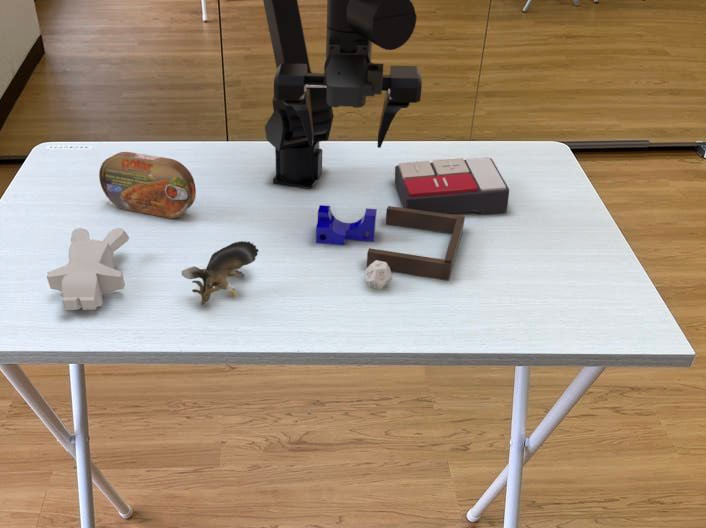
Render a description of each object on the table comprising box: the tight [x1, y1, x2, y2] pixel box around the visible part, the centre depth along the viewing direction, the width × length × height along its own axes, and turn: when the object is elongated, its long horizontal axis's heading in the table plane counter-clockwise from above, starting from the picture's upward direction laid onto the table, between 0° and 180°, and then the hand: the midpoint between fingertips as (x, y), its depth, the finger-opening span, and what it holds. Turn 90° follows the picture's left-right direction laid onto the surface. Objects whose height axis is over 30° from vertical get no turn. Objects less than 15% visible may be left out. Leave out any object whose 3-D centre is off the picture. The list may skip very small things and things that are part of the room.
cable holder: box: [315, 204, 378, 246], centre depth 108 cm, size 8×4×4 cm, turn 80°
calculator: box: [394, 156, 510, 215], centre depth 117 cm, size 11×4×15 cm
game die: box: [363, 260, 393, 290], centre depth 100 cm, size 4×4×3 cm
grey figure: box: [46, 227, 130, 311], centre depth 100 cm, size 10×5×15 cm
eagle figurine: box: [180, 240, 259, 306], centre depth 98 cm, size 8×7×9 cm
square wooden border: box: [366, 205, 466, 282], centre depth 106 cm, size 11×13×2 cm
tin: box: [98, 151, 197, 219], centre depth 114 cm, size 15×3×8 cm, turn 68°
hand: (345, 145), depth 106 cm, fingers open, 9 cm apart
